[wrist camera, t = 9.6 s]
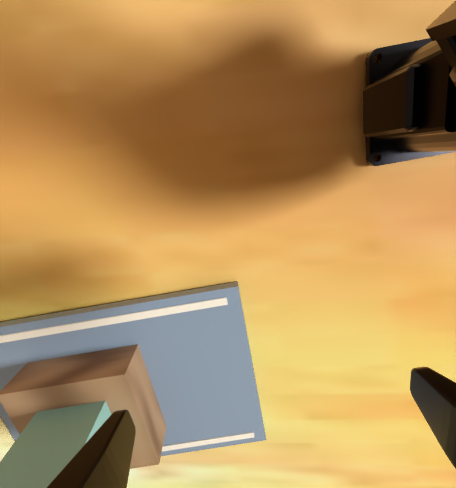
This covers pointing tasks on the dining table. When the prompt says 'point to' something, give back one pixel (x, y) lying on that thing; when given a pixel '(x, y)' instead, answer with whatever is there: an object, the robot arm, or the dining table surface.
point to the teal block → (50, 444)
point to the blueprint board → (160, 359)
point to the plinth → (92, 393)
